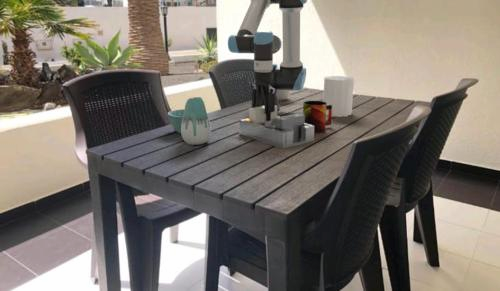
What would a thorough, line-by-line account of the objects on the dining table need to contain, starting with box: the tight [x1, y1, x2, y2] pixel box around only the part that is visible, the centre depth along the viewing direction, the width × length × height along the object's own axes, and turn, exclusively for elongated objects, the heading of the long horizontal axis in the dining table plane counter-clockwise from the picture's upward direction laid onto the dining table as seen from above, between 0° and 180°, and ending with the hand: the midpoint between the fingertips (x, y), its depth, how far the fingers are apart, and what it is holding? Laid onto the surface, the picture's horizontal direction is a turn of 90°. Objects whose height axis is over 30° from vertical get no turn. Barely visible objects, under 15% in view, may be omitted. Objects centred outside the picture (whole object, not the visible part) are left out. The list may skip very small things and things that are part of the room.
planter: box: [277, 90, 292, 102], centre depth 241 cm, size 17×17×15 cm
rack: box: [238, 113, 316, 150], centre depth 165 cm, size 27×17×10 cm, turn 39°
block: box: [248, 105, 278, 126], centre depth 170 cm, size 4×12×9 cm, turn 129°
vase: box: [180, 96, 212, 146], centre depth 157 cm, size 12×12×18 cm
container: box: [322, 75, 355, 118], centre depth 204 cm, size 14×14×18 cm
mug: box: [302, 100, 333, 134], centre depth 176 cm, size 10×14×12 cm
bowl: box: [167, 108, 185, 134], centre depth 174 cm, size 16×16×8 cm
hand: (262, 126), depth 171 cm, fingers open, 4 cm apart
